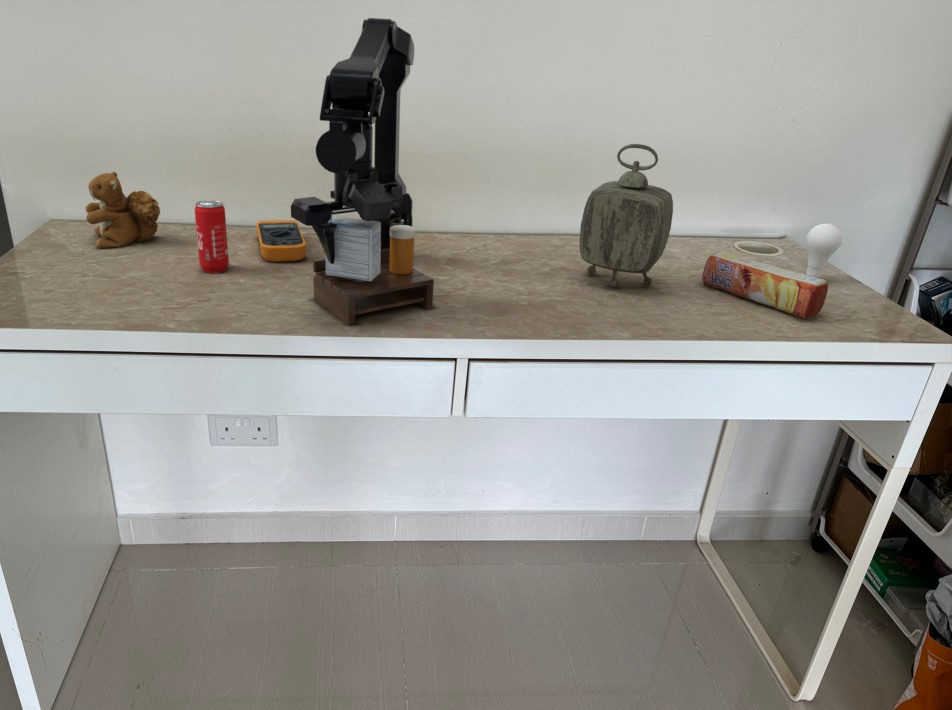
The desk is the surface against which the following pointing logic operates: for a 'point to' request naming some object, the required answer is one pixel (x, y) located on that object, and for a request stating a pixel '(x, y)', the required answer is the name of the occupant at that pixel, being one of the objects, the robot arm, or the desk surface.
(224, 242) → the red soda can
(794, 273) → the snack package
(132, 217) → the stuffed squirrel
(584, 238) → the tabletop clock
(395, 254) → the pill bottle
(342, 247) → the medicine box
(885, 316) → the desk surface
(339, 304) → the rack
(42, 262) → the desk surface
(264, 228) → the multimeter
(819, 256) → the lightbulb
